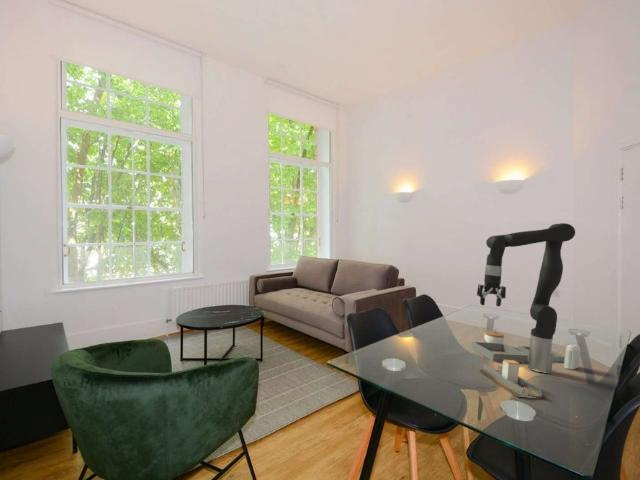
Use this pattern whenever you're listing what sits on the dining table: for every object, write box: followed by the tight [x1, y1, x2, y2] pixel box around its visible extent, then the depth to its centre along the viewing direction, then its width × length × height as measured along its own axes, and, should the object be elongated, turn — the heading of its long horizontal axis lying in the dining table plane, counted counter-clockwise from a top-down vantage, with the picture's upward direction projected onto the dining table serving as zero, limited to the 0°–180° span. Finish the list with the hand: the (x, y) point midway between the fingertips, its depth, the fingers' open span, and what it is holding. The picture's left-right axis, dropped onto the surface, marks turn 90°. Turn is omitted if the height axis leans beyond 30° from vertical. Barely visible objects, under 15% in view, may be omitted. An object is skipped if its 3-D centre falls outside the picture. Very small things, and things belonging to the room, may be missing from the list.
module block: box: [502, 360, 520, 384], centre depth 146 cm, size 5×4×9 cm
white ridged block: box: [563, 343, 581, 370], centre depth 175 cm, size 10×4×12 cm, turn 123°
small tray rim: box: [518, 345, 565, 363], centre depth 191 cm, size 16×16×3 cm
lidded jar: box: [484, 330, 505, 343], centre depth 205 cm, size 11×11×9 cm
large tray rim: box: [471, 341, 529, 363], centre depth 186 cm, size 20×20×4 cm
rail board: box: [479, 363, 546, 400], centre depth 146 cm, size 12×26×4 cm, turn 6°
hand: (490, 305), depth 170 cm, fingers open, 8 cm apart
